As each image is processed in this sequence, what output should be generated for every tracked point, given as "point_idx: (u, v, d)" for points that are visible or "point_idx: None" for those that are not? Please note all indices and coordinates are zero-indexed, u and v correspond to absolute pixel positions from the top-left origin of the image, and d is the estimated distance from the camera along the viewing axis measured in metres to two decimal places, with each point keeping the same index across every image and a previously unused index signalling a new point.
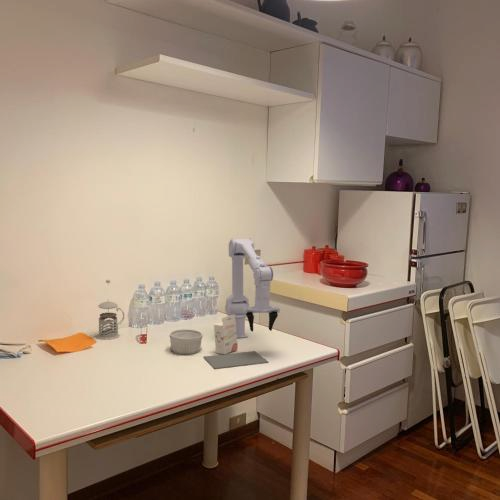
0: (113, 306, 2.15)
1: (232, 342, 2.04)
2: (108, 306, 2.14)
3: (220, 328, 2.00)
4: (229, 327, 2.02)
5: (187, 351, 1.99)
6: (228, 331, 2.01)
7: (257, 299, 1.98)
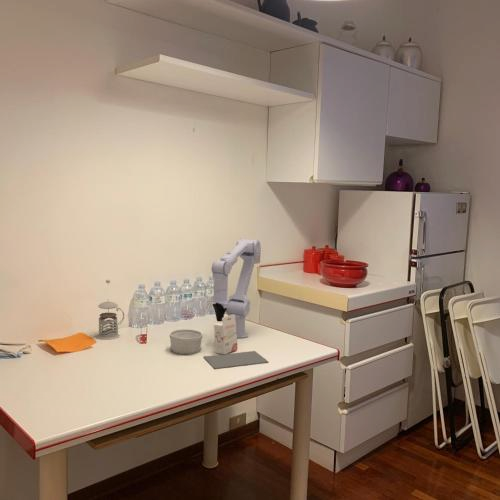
0: (113, 306, 2.15)
1: (232, 342, 2.04)
2: (108, 306, 2.14)
3: (220, 328, 2.00)
4: (229, 327, 2.02)
5: (187, 351, 1.99)
6: (228, 331, 2.01)
7: None
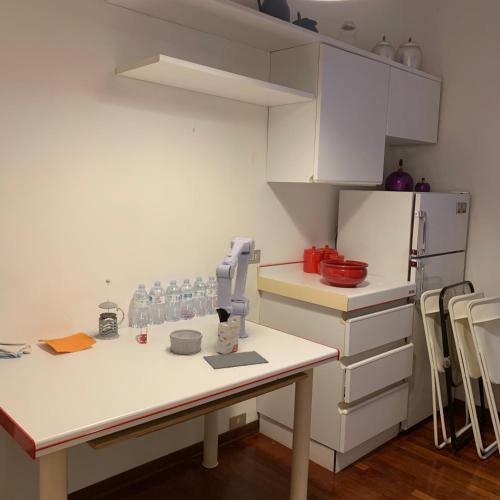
0: (113, 306, 2.15)
1: (233, 343, 2.03)
2: (108, 306, 2.14)
3: (224, 328, 1.99)
4: (233, 328, 2.02)
5: (187, 351, 1.99)
6: (231, 332, 2.01)
7: None
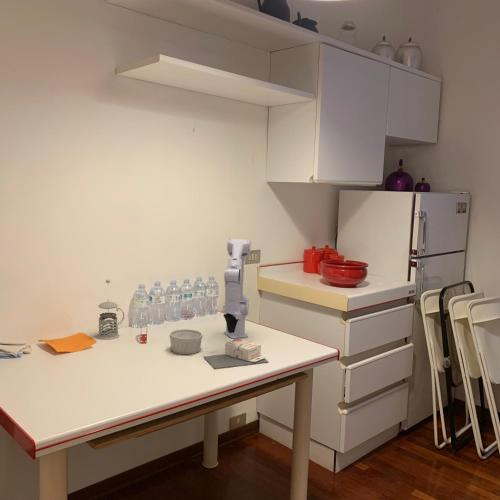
0: (113, 306, 2.15)
1: None
2: (108, 306, 2.14)
3: (245, 357, 1.93)
4: None
5: (187, 351, 1.99)
6: None
7: None
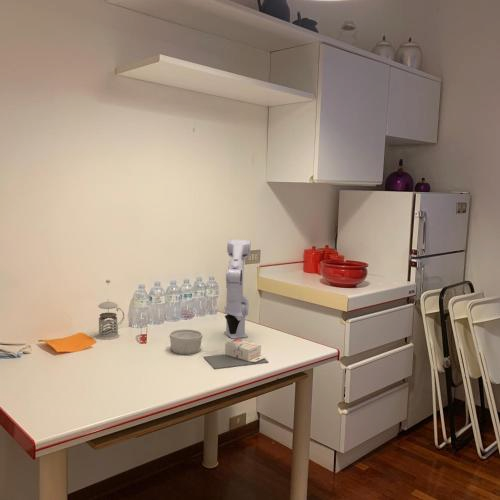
0: (113, 306, 2.15)
1: None
2: (108, 306, 2.14)
3: (245, 357, 1.93)
4: None
5: (187, 351, 1.99)
6: None
7: None
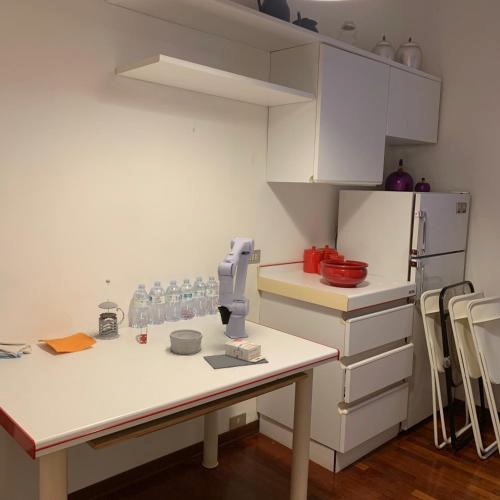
0: (113, 306, 2.15)
1: None
2: (108, 306, 2.14)
3: (245, 357, 1.93)
4: None
5: (187, 351, 1.99)
6: None
7: None
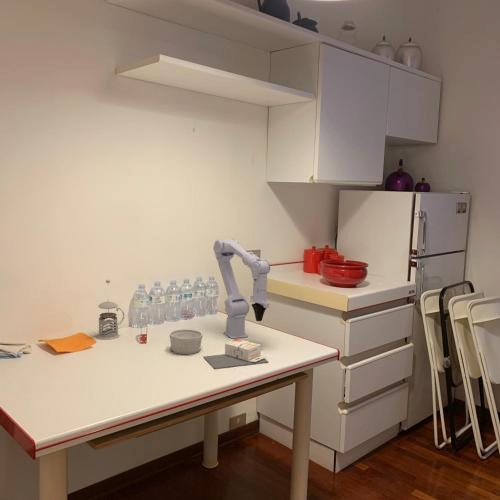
0: (113, 306, 2.15)
1: None
2: (108, 306, 2.14)
3: (245, 357, 1.93)
4: None
5: (187, 351, 1.99)
6: None
7: None
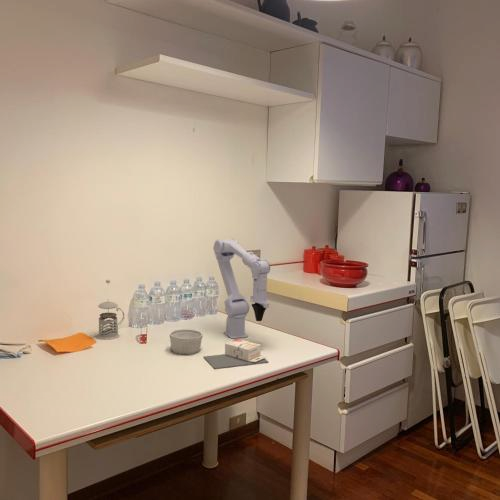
0: (113, 306, 2.15)
1: None
2: (108, 306, 2.14)
3: (245, 357, 1.93)
4: None
5: (187, 351, 1.99)
6: None
7: None
